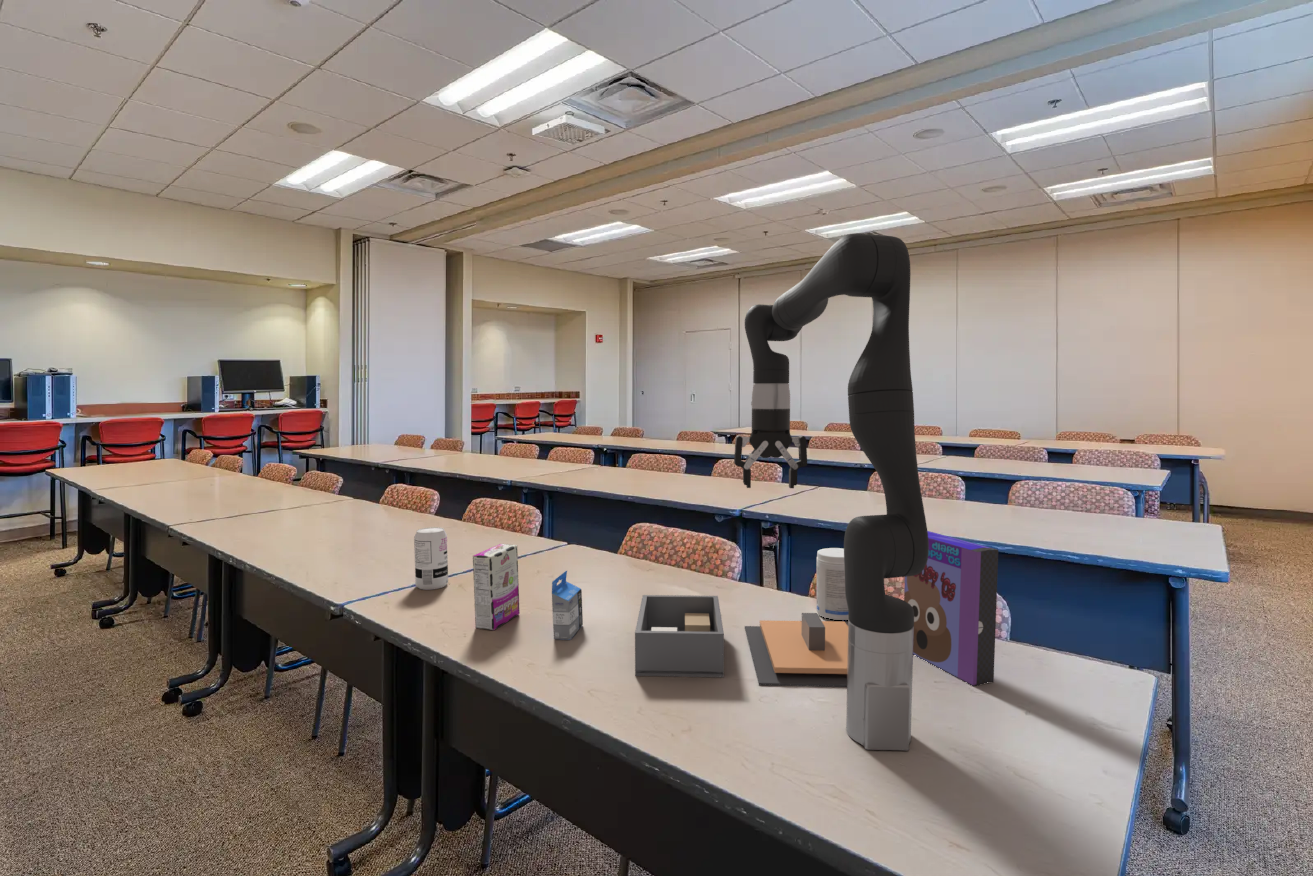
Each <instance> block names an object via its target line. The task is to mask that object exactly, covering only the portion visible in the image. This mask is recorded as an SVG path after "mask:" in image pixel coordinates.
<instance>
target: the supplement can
mask: <svg viewBox="0 0 1313 876" xmlns="http://www.w3.org/2000/svg"><path fill="white" fill-rule="evenodd" d="M413 544H414V549H413V550H414V573H415V574H414V576H415V577H414V579H415V581H414V582H415V584H414V585H415V587H417V588H418V589H419V590H424V591H429V590H430V591H431V590H438V589H442V588H444V587H446V586H447V584H448V583H449V563H448V562H449V561H448V556H449V555H448V534H447V532H446V530H445V528H444V527H435V526H434V527H422V528H420V529H419V528H418V530H416V532H415V535H414V537H413Z"/></svg>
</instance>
